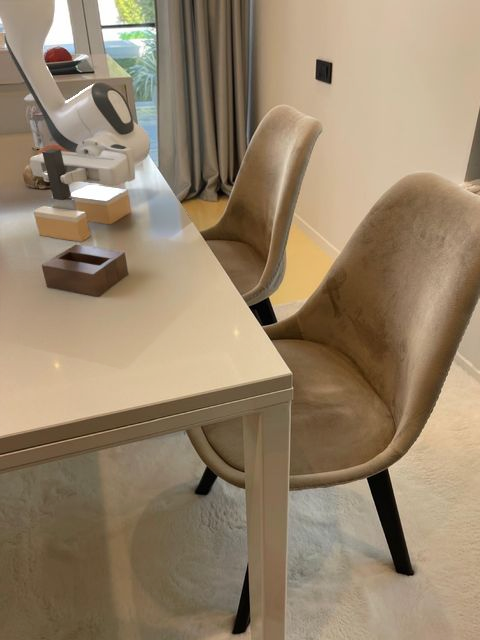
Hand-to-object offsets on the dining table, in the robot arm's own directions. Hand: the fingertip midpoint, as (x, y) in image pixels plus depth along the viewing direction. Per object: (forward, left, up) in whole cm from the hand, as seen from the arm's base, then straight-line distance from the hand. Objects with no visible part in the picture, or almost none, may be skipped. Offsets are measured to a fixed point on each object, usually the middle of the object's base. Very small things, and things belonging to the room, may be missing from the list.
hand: (54, 178), depth 105 cm
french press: (-18, +74, -11) cm, 77 cm away
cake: (+6, +10, -11) cm, 16 cm away
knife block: (+7, -21, -11) cm, 25 cm away
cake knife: (+1, +1, -9) cm, 9 cm away
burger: (-11, +54, -11) cm, 56 cm away
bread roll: (-11, +36, -11) cm, 39 cm away
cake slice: (0, -1, -11) cm, 11 cm away
